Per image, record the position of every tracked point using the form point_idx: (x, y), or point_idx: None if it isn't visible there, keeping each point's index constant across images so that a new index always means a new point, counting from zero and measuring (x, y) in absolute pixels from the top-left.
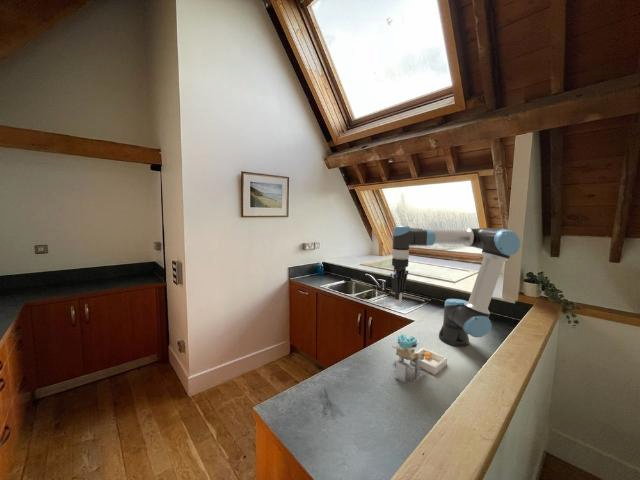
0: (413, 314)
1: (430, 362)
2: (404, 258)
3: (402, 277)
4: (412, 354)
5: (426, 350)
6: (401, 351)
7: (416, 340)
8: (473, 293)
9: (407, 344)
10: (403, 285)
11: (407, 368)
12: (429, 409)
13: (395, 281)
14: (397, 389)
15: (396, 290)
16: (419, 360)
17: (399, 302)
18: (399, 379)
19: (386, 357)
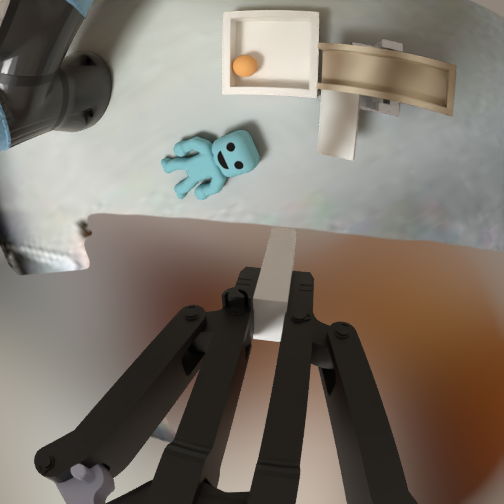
0: (59, 240)
1: (264, 50)
2: None
3: (205, 475)
4: (429, 58)
5: (230, 76)
6: (453, 96)
7: (178, 143)
8: None
9: (246, 141)
10: (182, 356)
11: None
12: (459, 9)
13: (396, 461)
14: (457, 85)
15: (362, 352)
16: (390, 41)
17: (293, 251)
18: None
19: (342, 168)
